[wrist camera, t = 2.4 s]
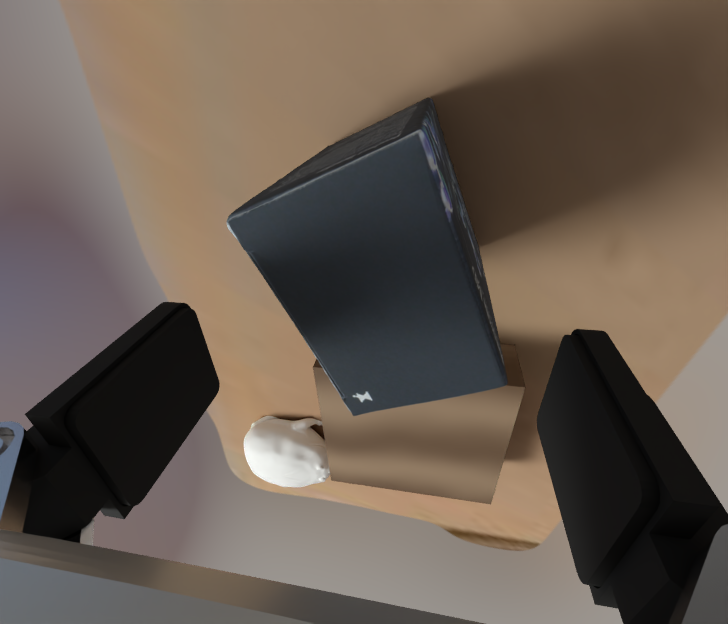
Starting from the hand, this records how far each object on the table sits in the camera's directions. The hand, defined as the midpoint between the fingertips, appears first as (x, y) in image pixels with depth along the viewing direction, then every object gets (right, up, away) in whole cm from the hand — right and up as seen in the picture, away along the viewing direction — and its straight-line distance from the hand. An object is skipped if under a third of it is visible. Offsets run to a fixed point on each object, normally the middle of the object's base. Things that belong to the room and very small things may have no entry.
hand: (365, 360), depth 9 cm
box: (+2, +7, +9) cm, 12 cm away
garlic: (-6, -10, +23) cm, 26 cm away
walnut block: (+4, -5, +18) cm, 19 cm away
